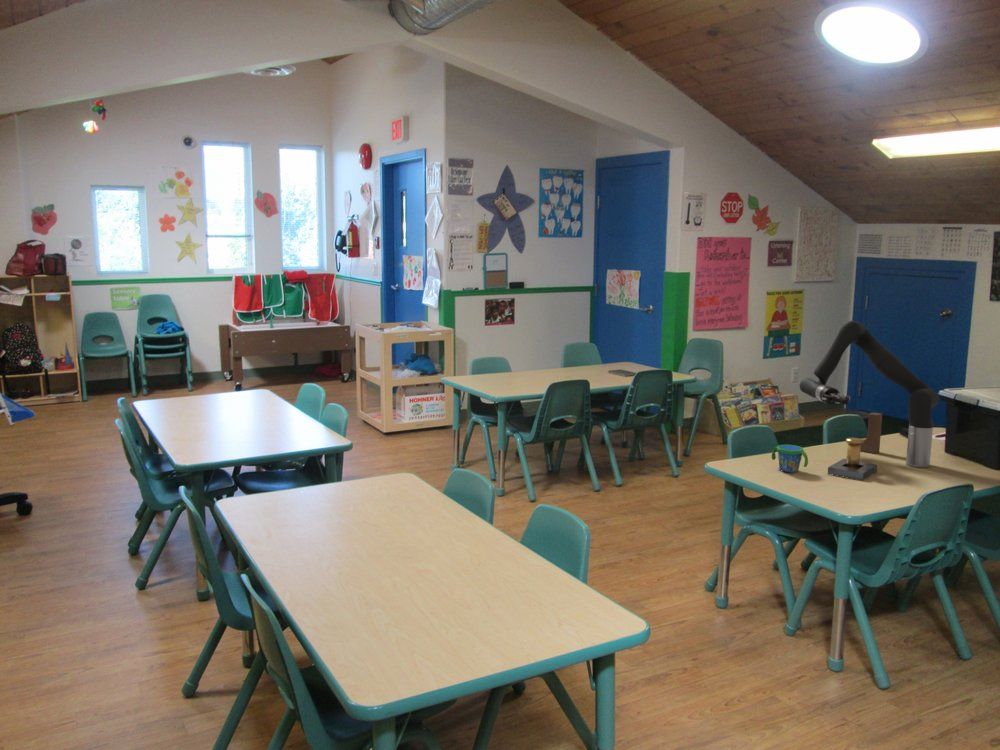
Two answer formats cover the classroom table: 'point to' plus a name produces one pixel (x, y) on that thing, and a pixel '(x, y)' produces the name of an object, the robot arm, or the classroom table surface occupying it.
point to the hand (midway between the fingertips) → (845, 402)
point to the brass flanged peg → (853, 452)
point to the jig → (852, 470)
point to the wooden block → (873, 434)
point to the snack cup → (789, 457)
